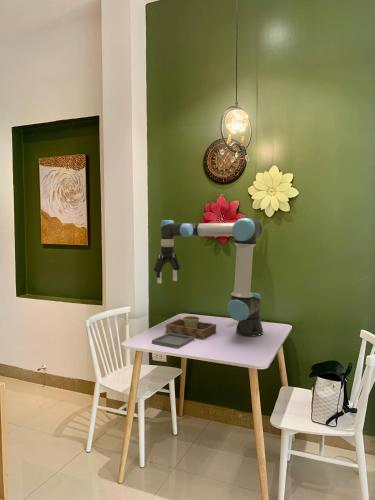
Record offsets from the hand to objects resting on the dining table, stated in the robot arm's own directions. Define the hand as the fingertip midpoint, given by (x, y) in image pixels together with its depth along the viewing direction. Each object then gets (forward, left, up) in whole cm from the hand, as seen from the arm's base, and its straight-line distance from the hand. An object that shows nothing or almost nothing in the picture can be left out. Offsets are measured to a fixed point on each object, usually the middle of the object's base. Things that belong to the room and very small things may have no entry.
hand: (167, 282), depth 230 cm
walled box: (-19, +4, -27) cm, 33 cm away
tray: (-19, +23, -27) cm, 40 cm away
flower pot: (-19, +4, -27) cm, 33 cm away
